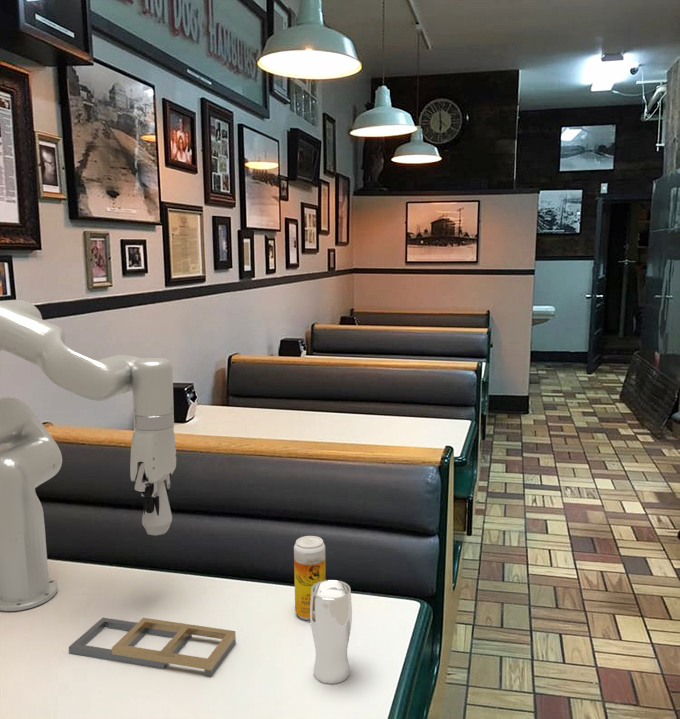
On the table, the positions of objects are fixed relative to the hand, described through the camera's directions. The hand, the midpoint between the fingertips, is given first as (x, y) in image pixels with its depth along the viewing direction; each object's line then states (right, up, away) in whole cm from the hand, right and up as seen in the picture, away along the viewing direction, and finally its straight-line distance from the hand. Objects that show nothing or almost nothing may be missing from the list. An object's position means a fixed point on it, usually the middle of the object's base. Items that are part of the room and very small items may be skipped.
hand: (156, 510), depth 128 cm
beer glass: (+35, -23, -19) cm, 46 cm away
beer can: (+31, -20, -1) cm, 37 cm away
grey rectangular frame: (-1, -22, -11) cm, 24 cm away
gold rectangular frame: (+7, -22, -13) cm, 27 cm away
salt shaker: (0, -4, +1) cm, 4 cm away
